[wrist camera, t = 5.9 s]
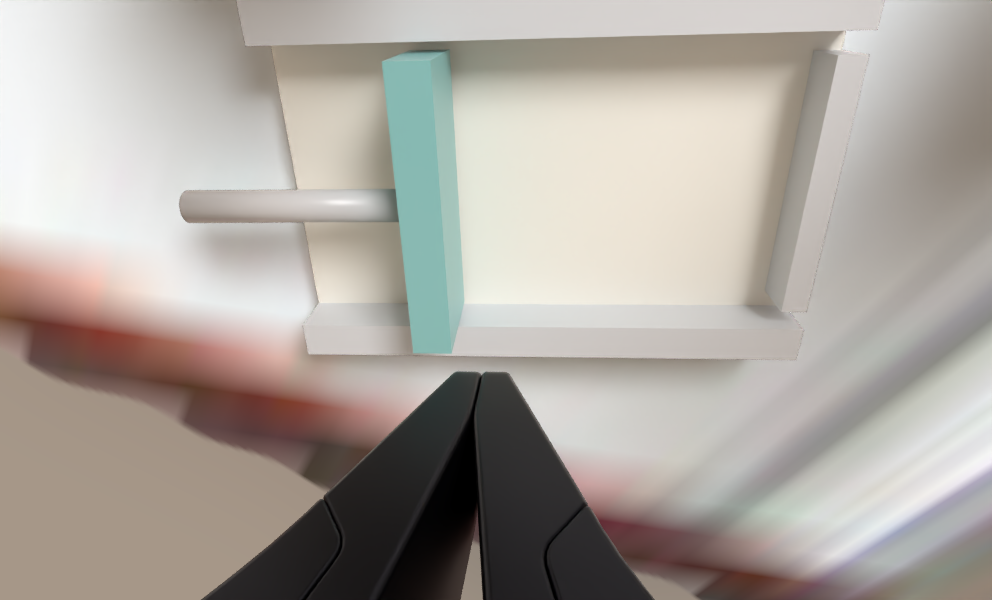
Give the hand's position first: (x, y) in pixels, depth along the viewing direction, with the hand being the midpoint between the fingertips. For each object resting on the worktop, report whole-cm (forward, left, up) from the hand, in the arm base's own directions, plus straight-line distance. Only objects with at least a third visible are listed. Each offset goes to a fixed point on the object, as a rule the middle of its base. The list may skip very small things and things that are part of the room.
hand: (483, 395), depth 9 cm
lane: (-1, 0, -12) cm, 12 cm away
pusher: (+6, 0, -11) cm, 13 cm away
